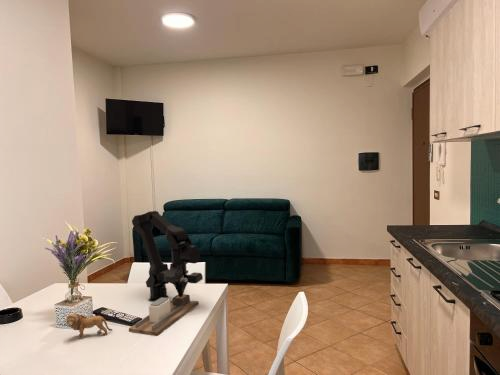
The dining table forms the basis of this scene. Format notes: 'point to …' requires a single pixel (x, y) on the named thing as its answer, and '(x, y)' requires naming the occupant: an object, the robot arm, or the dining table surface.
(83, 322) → the lion figurine
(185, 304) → the rail mount
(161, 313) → the block
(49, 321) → the dining table surface
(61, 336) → the dining table surface
